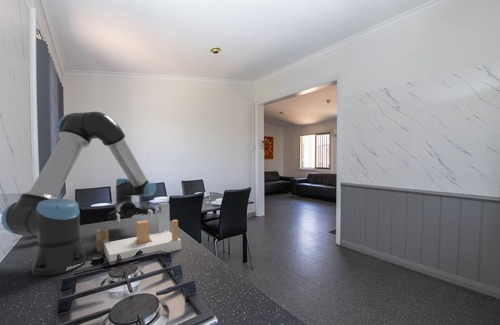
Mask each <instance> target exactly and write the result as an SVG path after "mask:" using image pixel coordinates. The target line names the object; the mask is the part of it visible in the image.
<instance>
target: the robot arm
mask: <svg viewBox="0 0 500 325" xmlns="http://www.w3.org/2000/svg"><path fill="white" fill-rule="evenodd" d="M57 127H58V134H57V135H58V137H59V141H58V143H56V146H55V148H54V149H53V151H52V152H51V155H50V156H49V158H47V159H48V160H47V161H46V163H45V165H44V166H43V168H42V170H41V172H40V173H39V175H38V176H37V178H36V180H35V182H34V183H33V185H32V187H31V189H30V190H29V191H26V192H24V193H22V194H21V196H20V197H19V199H18V201H16V202H14V203H13V202H12V203H11V204H9V205H8V206H7V207H5V209H4V210H3V212H2V214H1V220H0V221H1V225H2V226H3V228H4V229H5V230H6V231H7V232H9V233H12V234H15V235H19V236H35V237H37V245H38V246H37V247H38V248H37V251H36V254H35V257H34V260H33V262H32V264H31V274H32V275H33V276H36V277H38V276H39V277H49V276H55V275H59V274H64V273H67V272H66V269H67V267H70V266H74V265H77V264H81V263H84V262H85V263H86V262H87V254H86V252H85V250H84V248H83V245H82V243H81V240H80V239H81V238H80V236H81V234H80V229H81V228H80V225H81V223H80V221H81V220H80V208H79V203H78V202H77V201H76V200H74V199H69V198H68V199H67V198H58V196H59V194H60V192H61V190H62V188H63V186H64V185H65V183H66V181H67V179H68V177H69V175H70V173H71V171H72V169H73V167H74V166H75V164H76V162H77V160H78V158H79V156H80V154H81V152H82V150H83V149H84V148H85V149H86V148H88V147H89V145H90V144H91V142H92V140H93V139H98V140H100V141H101V142H102V145H103V146H106V147H107V148H109V150H110V153H111V154H112V155H113V157H114V159H115V160H116V162H117V163H118V165H119V166H120V167H121V169H122V171H123V172H124V174H125V175H126V177H119V178H117V179H116V181H115V196H116V198H115V199H116V200H115V204H114V207H115V209H113V211H111V212H109V213H107V219H108V220H112V221H113V222H115V221H117V223H120V222H121V217H123V218H125V219H126V218H127V219H128V218H132V217H133V216H138V215H139V216H140V215H147V216H148V217H150V218H154V215H155V213H156V208H155V207H145V206H141V207H137V206H136V205H135V204H134V203H133V202H132V200H133V198H132V196H137V197H151V196H153V195H155V193H156V191H157V186H156V183H155V182H153V181H149V180H148V179H147V176H146V175H145V173H144V171H143V170H142V168H141V166H140V164H139V162H138V160H137V159H136V157H135V155H134V154H133V152H132V150H131V149H130V147H129V145H128V143H127V141H126V140H125V138H126V135H125V133H124V131H123V129H122V128H121V126H119V124H118V123H117V122H116V121H115V120H114V119H113V118H112V117H111V116H109V115H107V114H106V113H103V112H101V111H100V112H99V111H90V112H88V111H86V112H73V113H72V112H71V113H68V114H65V115H63V116H62V117H61V118H60V119H59V121H58V124H57ZM85 263H84V264H85Z"/></svg>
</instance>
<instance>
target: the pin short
mask: <svg viewBox="0 0 500 325" xmlns="http://www.w3.org/2000/svg"><path fill="white" fill-rule="evenodd" d="M95 232H96V235H95V236H96V250H97V252H100V251H104V243H106V242H110V241H109V228H107V227H105V228H100V229H99V228H97V229H96V231H95Z"/></svg>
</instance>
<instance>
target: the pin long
mask: <svg viewBox="0 0 500 325" xmlns="http://www.w3.org/2000/svg"><path fill="white" fill-rule="evenodd" d="M170 224H171V219H170V203H169V202H159V203H158V233H160V232H165V231H169V232H171V225H170Z"/></svg>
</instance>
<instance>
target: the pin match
mask: <svg viewBox="0 0 500 325" xmlns="http://www.w3.org/2000/svg"><path fill="white" fill-rule="evenodd" d="M135 226H136V237H137V245H139V244H143V243H148V242H150V240H149V234H150V222H149V221H148V220H139V221H136V224H135Z"/></svg>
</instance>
